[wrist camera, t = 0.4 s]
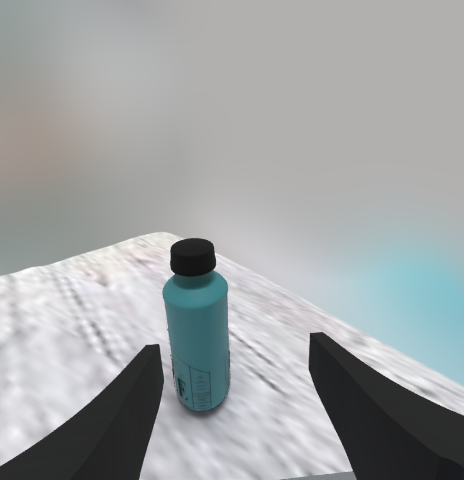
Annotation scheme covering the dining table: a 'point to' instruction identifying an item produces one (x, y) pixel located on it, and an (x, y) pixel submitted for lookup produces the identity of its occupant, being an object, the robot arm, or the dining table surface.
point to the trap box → (329, 477)
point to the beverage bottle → (198, 325)
